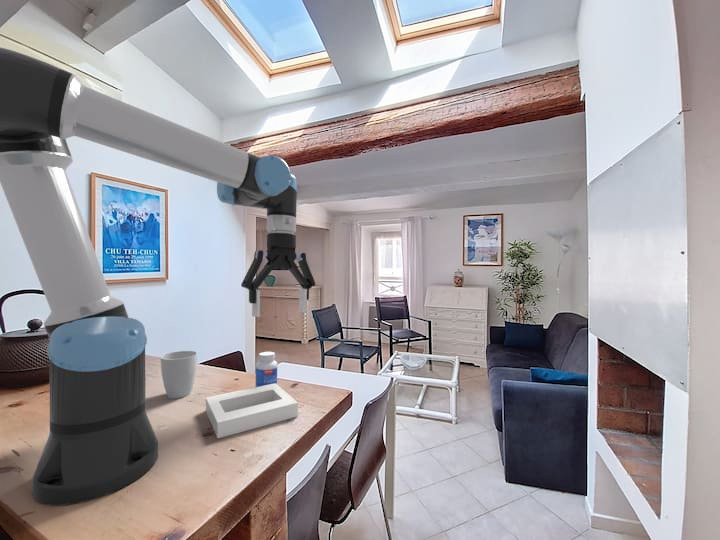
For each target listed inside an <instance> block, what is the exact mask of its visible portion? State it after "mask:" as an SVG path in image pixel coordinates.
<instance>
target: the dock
mask: <svg viewBox="0 0 720 540" xmlns="http://www.w3.org/2000/svg"><path fill="white" fill-rule="evenodd" d="M298 405H299V403H298V402H297V401H296V399H294V398H293V397H292V396H291V395H290V394H289V393H288V392H287V391H285V390H284V389H283V388H282V387H281V386H279V385H278V383H277V384H276V383H274V384H269V385H264V386H259V387H256V386H255V387H251V388H246V389H240V390H235V391H231V392H227V393H221V394H216V395H212V396H211V395H210V396H206V397H205V413H206V414H207V418H208V420H209V422H210V424H211V426H212V428H213V431H214V433H215V435H216V438H217V439H221V438H225V437H229V436H232V435H236V434H239V433H243V432H246V431H251V430H254V429H258V428H261V427H265V426H270V425H272V424H276V423H279V422H283V421H287V420H290V419H294V418H296V417H297V418H298V417H299V414H298V413H299V406H298Z"/></svg>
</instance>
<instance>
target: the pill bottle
mask: <svg viewBox="0 0 720 540" xmlns="http://www.w3.org/2000/svg"><path fill="white" fill-rule="evenodd" d="M275 358H276V353H275V352H273V351H263V352H260V353H258V362H256V364H255V387H259V386H264V385H269V384H274V383H276V384H277V385H278V361H276V359H275Z"/></svg>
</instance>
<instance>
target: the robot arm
mask: <svg viewBox="0 0 720 540" xmlns="http://www.w3.org/2000/svg"><path fill="white" fill-rule="evenodd" d="M71 137H78V138H80V139H83V140H87V141H90V142H93V143H96V144H99V145H102V146H105V147H109V148H111V149H115V150H117V151H120V152H124V153H127V154H130V155H133V156H136V157H139V158H142V159H145V160H147V161H151V162H154V163H158V164H161V165H164V166H167V167H170V168H173V169H176V170H179V171H182V172H186V173H189V174H192V175H195V176H198V177H201V178H204V179H207V180H210V181H213V182H217V183H216V193H217V194H216V195H217V198H218V200H219V201H220V202H221V203H225V204H229V205H232V206H242V207H250V208H257V209H258V208H259V209H263V210H264V209H265V210H266V232H267V234H266V251H263V250H262V249H260V250H255V251H254V254H253V260H252V262H251V264H250V266H249V268H248V270H247V272H246V274H245V276H244V278H243V280H242V282H241V284H240V285H241V287H242V288H244V289H247V290H248V302H249V304H251V305H252V306H251V316H252V317H255V318H260V316H261V314H260V313H261V290H258V288H260V285H261V284H262V283H263V282H264V281H265V280H266V279H267V278H268V276H269V275H270V273H271V272H272V271H273V270H277V269H278V270H279V269H282V270H288V271H289V272H290V273H291V275H292V276H293V277H294V279H295V280H296V282H297V283H298V284H299V286H300V288H298V291H299V292H298V313H306V314H307V313H308V312H307V311H308V309H307V308H308V302H307V301H309V299H310V289H312V287H315V286H316V282H315V279H314V276H313V274H312V272H311V269H310V266H309V264H308V261H307V254H306V252H298V253H296V248H297V235H296V234H295V233H297V200H298V199H297V198H298V197H297V196H298V186H297V185H298V184H297V178H296V177H295V175H293V174H292V172H291V170H290V167H289V166H288V164H287V162H286V161H285V160H284V159H283V158H281V157H279V156H277V155H266V156H262V157H260V156H257V155H254V154H252V153H249V152H247V151H246V150H245V151H244V150H242V149H239V148H237V147H234V146H233V145H230V144H227V143H224V142H222V141H219V140H218V139H215V138H213V137H211V136H207V135H206V134H203V133H201V132H198V131H196V130H193V129H190V128H188V127H185V126H183V125H182V124H181V125H180V124H179V123H176V122H174V121H172V120H168V119H166V118H163V117H161V116H158V115H156V114H154V113H152V112H149V111H146V110H144V109H141V108H139V107H137V106H135V105H131V104H129V103H126V102H124V101H121V100H119V99H117V98H114V97H112V96H109V95H107V94H105V93H102V92H100V91H99V90H98V91H97V90H95V89H92V88H90V87H88V86H85V85H84V84H83V82H82V81H81V80H80V79H79V77H78V75H76V74H75V73H72V72H70V71H66V70H64V69H61V68H60V67H58V66H55V65H53V64H50V63H48V62H46V61H43V60H40V59H37V58H35V57H33V56H30V55H27V54H24V53H21V52H19V51H15V50H12V49H8V48H4V47H1V46H0V185H1V188H2V190H3V193H4V196H5V198H6V200H7V203H8V205H9V208H10V210H11V213H12V215H13V218H14V221H15V223H16V225H17V228H18V231H19V233H20V236H21V238H22V241H23V244H24V246H25V248H26V252H27V254H28V256H29V258H30V262H31V263H32V266H33V269H34V271H35V274H36V276H37V278H38V282H39V283H40V286H41V289H42V291H43V294H44V297H45V299H46V301H47V304H48V306H49V309H50V314H49V315H48V317H47V318H46V320H45V321H44V322H43V327H44V328H45V331H46V334H47V336H48V339H49V343H48V345H47V349H46V351H47V357H48V358H49V433H48V436H47V437H48V438H47V440H46V442H45V445H44V448H43V450H42V453H41V456H40V458H39V460H38V463H37V465H36V468H35V471H34V474H33V477H32V498H33V500H34V501H35V502H37V503H39V504H43V505H49V506H64V505H72V503H73V504H76V503H83V502H87V501H90V500H93V499H97V498H100V497H103V496H105V495H106V496H107V495H108V494H110V493H112V492H116V491H117V490H120V489H122V488H124V487H126V486H128V485H130V484H131V483H133V482H135V481H136V480H138V479H139V478H141V477H142V476H144V475H145V474H146V473H147V472H148V471H150V470H151V468H152V467H154V465H155V463H156V462H157V460H158V457H159V442H158V439H157V436H156V434H155V431H154V429H153V427H152V424H151V422H150V419H149V417H148V414H147V411H146V345H147V341H148V339H147V334H146V329H145V326H144V324H143V323H142V322H141V321H140V320H139V319H137V318H132V317H129V315H128V312H127V310H126V307H125V303H124V301H123V300H120V299H117V298H115V297H113V296H112V295H111V294H110V290H109V287H108V285H107V282H106V279H105V277H104V274H103V271H102V268H101V265H100V263H99V260H98V257H97V253H96V251H95V249H94V246H93V243H92V240H91V237H90V234H89V232H88V229H87V227H86V224H85V221H84V218H83V215H82V212H81V210H80V208H79V205H78V204H79V203H78V202H77V199H76V196H75V194H74V193H75V192H74V190H73V187H72V184H71V182H70V179H69V176H68V173H67V172H66V171H67V169H68V168H69V166H70V165H71V164H72V163H73V161H74V160H73V157H72V155H71V151H70V149H69V146H68V143H67V139H70V138H71ZM264 259H266V260H267V262H266V263H265V264H264V266H263V268H262V269H261V270H260V272H259V273H258V274H257V272H258V270H259V269H260V267H261V265H262V263H263V260H264ZM295 260H296V261H297V263H298V265H299V268H300V270H299V268H298V265H297V263H295ZM256 274H257V275H256Z"/></svg>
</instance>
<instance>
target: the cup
mask: <svg viewBox="0 0 720 540" xmlns="http://www.w3.org/2000/svg"><path fill="white" fill-rule="evenodd" d="M159 360H160V367H161V368H160V369H161V370H160V371H161V377H162V383H163V387H164V390H165V393H166V396H167V397H168V398H169V399H179V398H180V399H181V398H184V397H187V396H189V395H191V393H192V389H193V387H194V385H195V379H196V374H197V364H198V363H197V362H198V352H197V351H194V350H180V351H173V352H169V353H165V354H162V355H161V356H160V359H159Z"/></svg>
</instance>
